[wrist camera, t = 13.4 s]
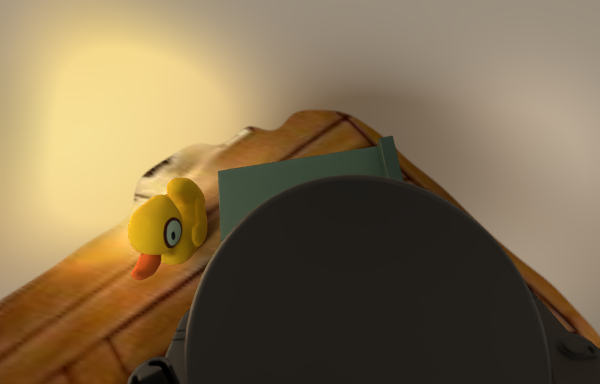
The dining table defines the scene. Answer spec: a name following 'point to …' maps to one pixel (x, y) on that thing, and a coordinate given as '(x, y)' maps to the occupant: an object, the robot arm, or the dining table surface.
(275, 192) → the shelf
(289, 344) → the jar
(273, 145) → the dining table surface
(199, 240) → the duckling
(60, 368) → the dining table surface
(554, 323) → the robot arm
